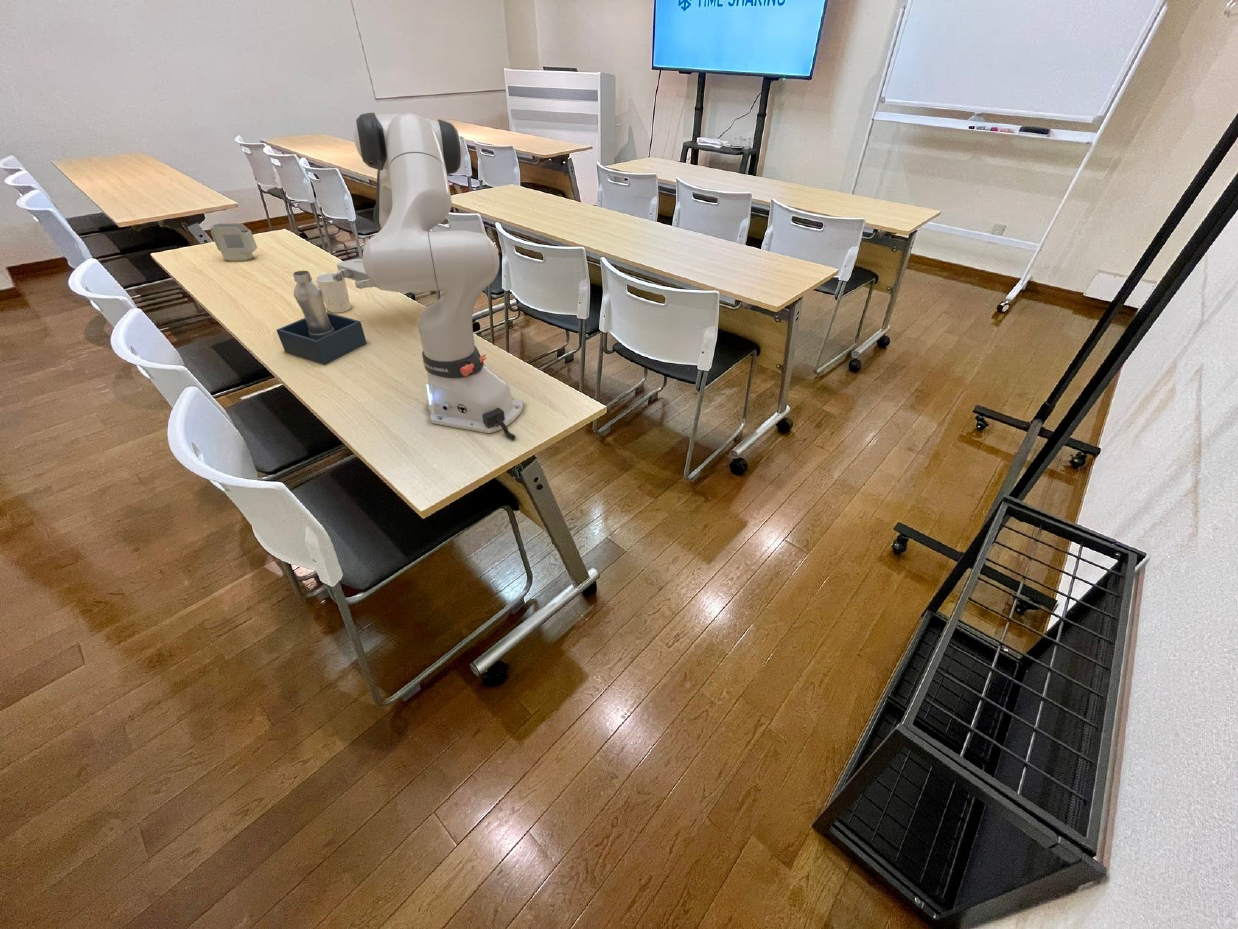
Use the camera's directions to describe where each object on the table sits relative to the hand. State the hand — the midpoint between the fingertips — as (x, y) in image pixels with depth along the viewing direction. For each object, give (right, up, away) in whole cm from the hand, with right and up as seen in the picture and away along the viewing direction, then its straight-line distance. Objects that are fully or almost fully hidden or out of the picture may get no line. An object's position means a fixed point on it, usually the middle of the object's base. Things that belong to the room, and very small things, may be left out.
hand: (345, 281), depth 141 cm
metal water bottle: (-6, -17, +2) cm, 18 cm away
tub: (-6, -18, +2) cm, 19 cm away
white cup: (-14, -1, +23) cm, 27 cm away
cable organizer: (-67, +27, +54) cm, 90 cm away
